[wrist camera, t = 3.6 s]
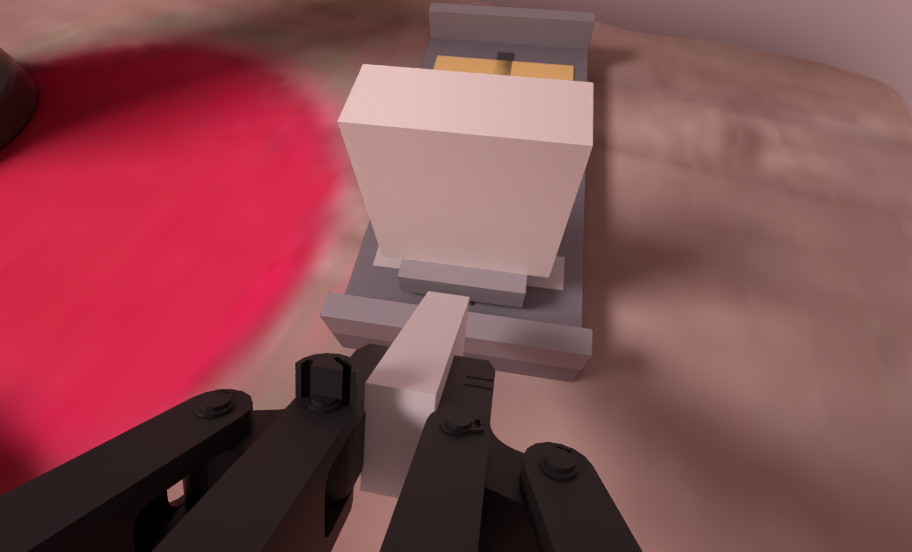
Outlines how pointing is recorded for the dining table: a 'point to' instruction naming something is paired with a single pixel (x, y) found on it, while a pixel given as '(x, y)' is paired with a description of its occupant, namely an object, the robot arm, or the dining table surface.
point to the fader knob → (468, 173)
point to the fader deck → (546, 299)
